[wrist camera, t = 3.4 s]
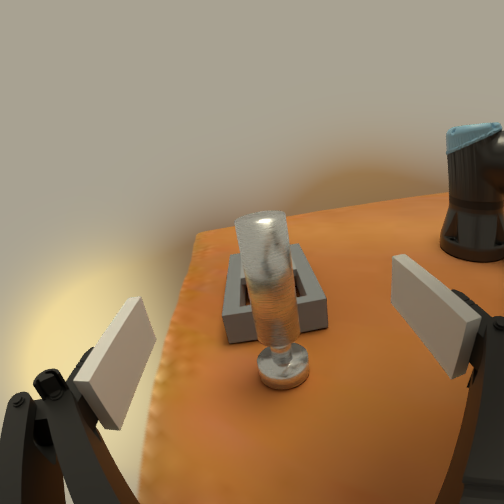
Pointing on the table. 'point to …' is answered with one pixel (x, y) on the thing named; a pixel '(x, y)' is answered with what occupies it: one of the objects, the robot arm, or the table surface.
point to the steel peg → (272, 297)
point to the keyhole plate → (240, 315)
